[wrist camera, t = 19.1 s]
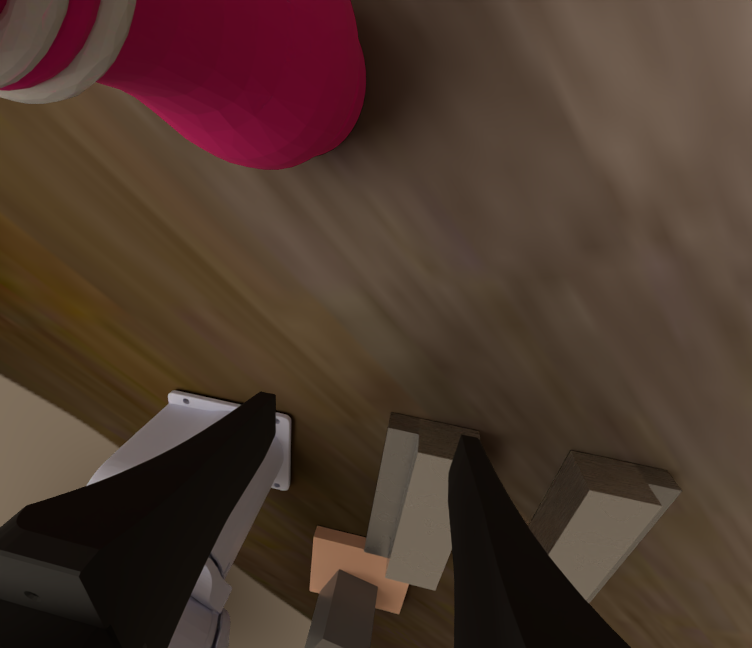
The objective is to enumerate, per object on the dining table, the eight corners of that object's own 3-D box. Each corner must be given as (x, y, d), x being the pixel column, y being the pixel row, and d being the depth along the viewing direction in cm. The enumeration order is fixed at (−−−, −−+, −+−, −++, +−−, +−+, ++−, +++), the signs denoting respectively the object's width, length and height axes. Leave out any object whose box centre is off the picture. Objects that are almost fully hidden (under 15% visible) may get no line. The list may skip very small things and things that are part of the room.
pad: (312, 579, 34) (309, 590, 33) (317, 525, 30) (313, 536, 29) (400, 602, 33) (399, 614, 32) (416, 549, 29) (416, 562, 28)
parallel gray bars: (367, 534, 29) (360, 571, 26) (391, 412, 23) (385, 445, 20) (578, 585, 28) (593, 630, 25) (666, 470, 21) (699, 514, 19)
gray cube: (319, 592, 33) (301, 659, 28) (339, 569, 30) (322, 638, 26) (355, 608, 33) (343, 677, 28) (377, 586, 31) (368, 658, 26)
